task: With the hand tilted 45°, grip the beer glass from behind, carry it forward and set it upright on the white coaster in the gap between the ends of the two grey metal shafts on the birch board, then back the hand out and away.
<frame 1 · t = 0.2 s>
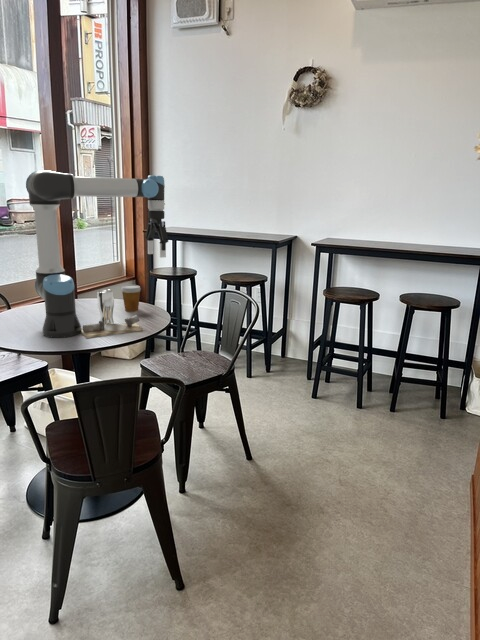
hand: (156, 255, 229), 28 cm above the table, tool pointing down, fingers open, 13 cm apart
disposable coffee cup: (131, 310, 238), on the table
beer glass: (106, 324, 214), on the table
shaft cradle: (114, 330, 205), on the table
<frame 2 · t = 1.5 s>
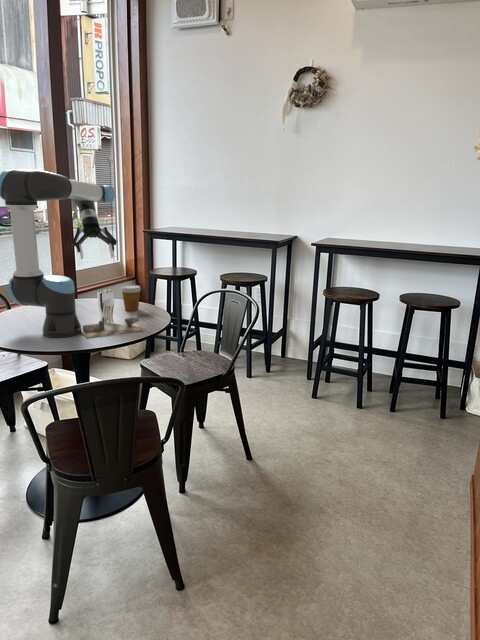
hand: (97, 256, 221), 28 cm above the table, tool tilted 45°, fingers open, 13 cm apart
nothing on the table moved.
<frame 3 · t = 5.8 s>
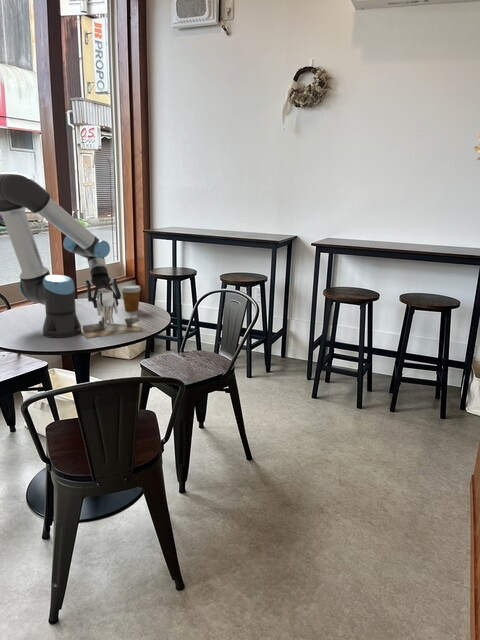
hand: (108, 312, 210), 6 cm above the table, tool tilted 45°, fingers closed on beer glass, 7 cm apart
beer glass: (106, 324, 214), on the table, touching gripper
everything else where it was.
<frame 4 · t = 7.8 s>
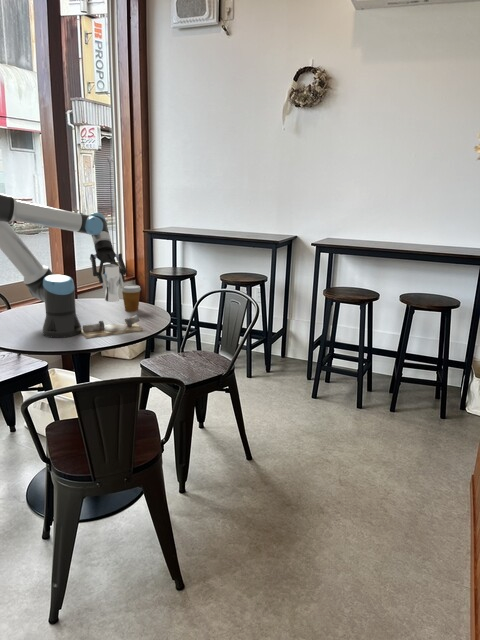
hand: (114, 288, 202), 18 cm above the table, tool tilted 45°, fingers closed on beer glass, 7 cm apart
beer glass: (112, 300, 207), point 12 cm above the table, touching gripper
everything else where it was.
when the fingers open (9 cm above the table, at t = 10.3 s): beer glass drops 1 cm, resting on shaft cradle.
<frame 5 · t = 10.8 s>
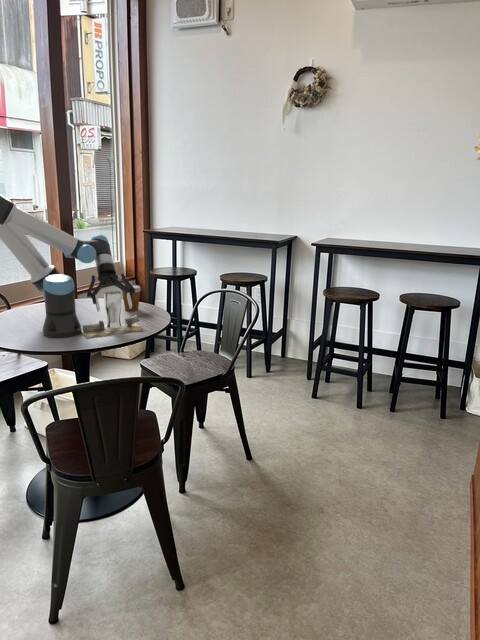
hand: (115, 308, 200), 10 cm above the table, tool tilted 45°, fingers open, 13 cm apart
beer glass: (114, 327, 205), point 1 cm above the table, touching shaft cradle
everything else where it was.
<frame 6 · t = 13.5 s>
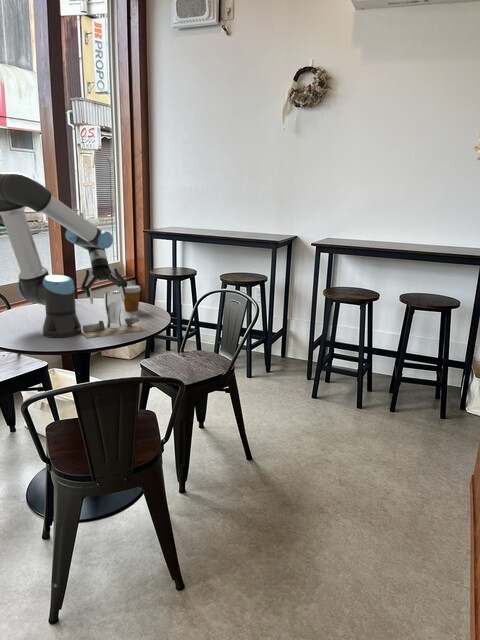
hand: (108, 301, 212), 10 cm above the table, tool tilted 45°, fingers open, 13 cm apart
nothing on the table moved.
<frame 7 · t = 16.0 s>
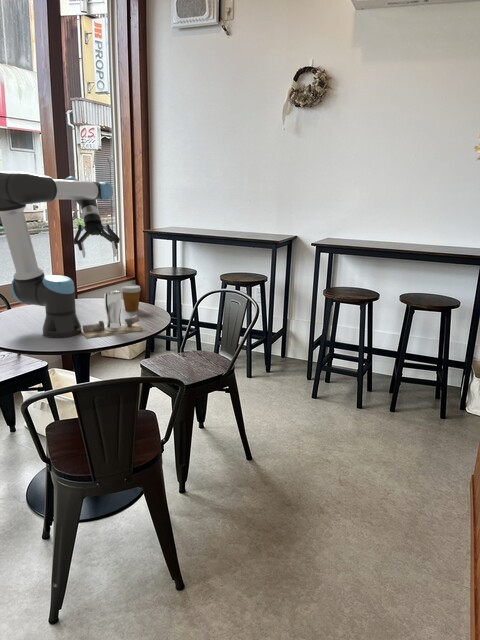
hand: (100, 255, 213), 30 cm above the table, tool tilted 45°, fingers open, 13 cm apart
nothing on the table moved.
at the end: beer glass 0.3 cm from the shaft cradle (horizontally); beer glass tilted 0°; the gripper is holding nothing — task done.
